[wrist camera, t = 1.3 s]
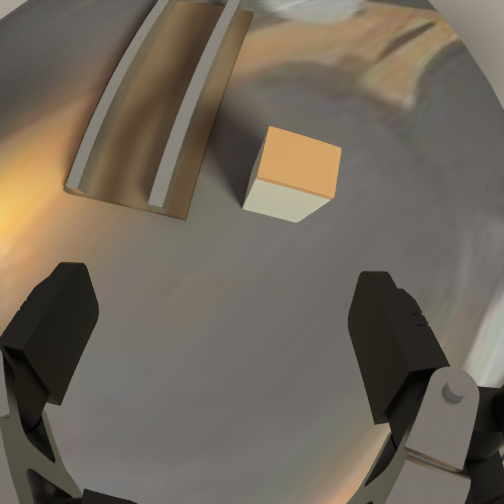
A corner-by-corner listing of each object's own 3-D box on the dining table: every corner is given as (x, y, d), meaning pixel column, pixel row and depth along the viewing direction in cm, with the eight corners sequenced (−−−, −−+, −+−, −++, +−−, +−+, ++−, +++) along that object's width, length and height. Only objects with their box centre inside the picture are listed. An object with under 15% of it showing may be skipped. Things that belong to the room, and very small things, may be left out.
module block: (242, 208, 28) (256, 175, 19) (251, 171, 28) (269, 126, 19) (296, 222, 28) (334, 197, 19) (304, 185, 29) (341, 148, 20)
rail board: (67, 193, 26) (51, 182, 22) (158, 4, 29) (156, -15, 25) (185, 220, 27) (182, 212, 24) (252, 17, 30) (256, -3, 27)
